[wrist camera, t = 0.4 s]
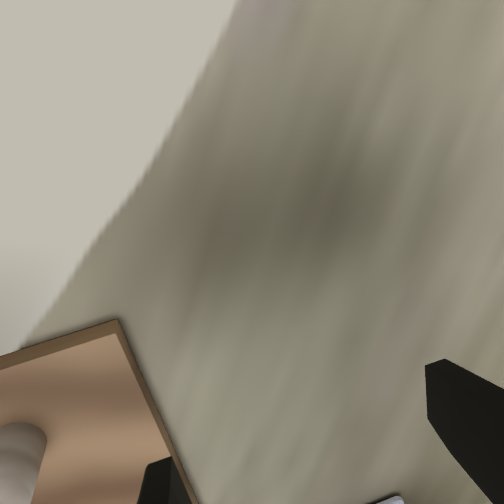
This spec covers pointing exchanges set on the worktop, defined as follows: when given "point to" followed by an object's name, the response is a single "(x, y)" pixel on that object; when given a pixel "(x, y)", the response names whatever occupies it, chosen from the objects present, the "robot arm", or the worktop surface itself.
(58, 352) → the brown rectangular board
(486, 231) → the worktop surface
